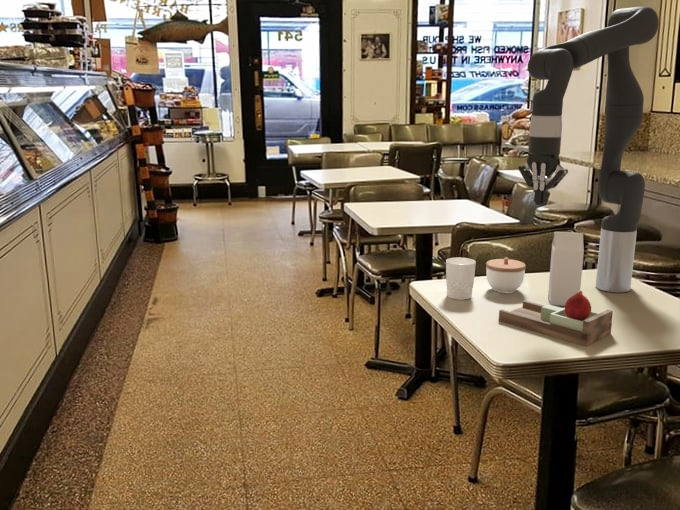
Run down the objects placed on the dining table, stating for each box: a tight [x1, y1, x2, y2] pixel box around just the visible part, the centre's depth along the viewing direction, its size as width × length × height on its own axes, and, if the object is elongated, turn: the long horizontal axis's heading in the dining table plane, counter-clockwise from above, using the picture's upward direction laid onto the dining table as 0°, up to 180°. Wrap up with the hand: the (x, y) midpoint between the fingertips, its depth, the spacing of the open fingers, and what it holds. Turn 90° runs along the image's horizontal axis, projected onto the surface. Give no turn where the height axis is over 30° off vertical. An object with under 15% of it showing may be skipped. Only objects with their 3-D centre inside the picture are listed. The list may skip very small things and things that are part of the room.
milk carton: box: [547, 231, 585, 307], centre depth 178 cm, size 7×7×19 cm
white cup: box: [445, 256, 476, 301], centre depth 184 cm, size 8×8×10 cm
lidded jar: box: [485, 257, 527, 293], centre depth 190 cm, size 11×11×9 cm
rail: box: [498, 300, 614, 347], centre depth 161 cm, size 11×23×6 cm, turn 43°
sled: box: [541, 303, 600, 332], centre depth 158 cm, size 9×13×3 cm
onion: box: [564, 289, 592, 321], centre depth 156 cm, size 6×6×8 cm
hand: (540, 204), depth 169 cm, fingers closed
